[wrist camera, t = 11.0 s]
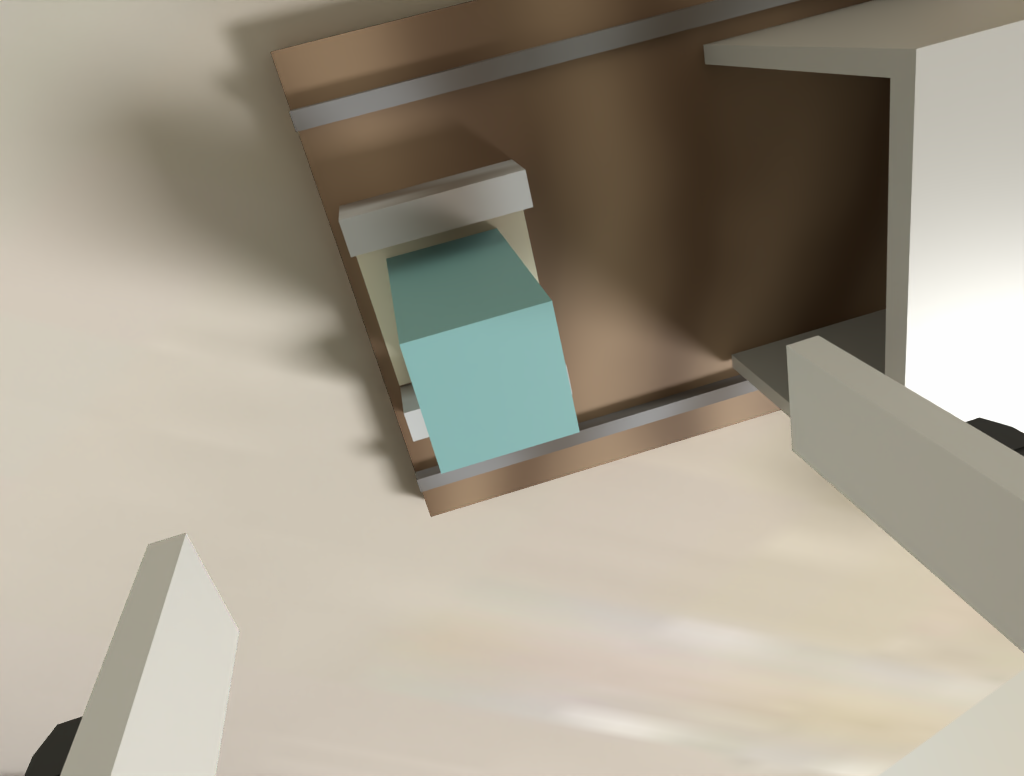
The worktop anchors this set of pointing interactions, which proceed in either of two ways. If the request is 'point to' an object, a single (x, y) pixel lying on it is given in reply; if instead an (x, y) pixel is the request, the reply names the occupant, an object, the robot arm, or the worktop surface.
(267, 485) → the worktop surface
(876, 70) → the housing
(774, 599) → the worktop surface
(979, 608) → the robot arm
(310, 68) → the board
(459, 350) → the teal block
